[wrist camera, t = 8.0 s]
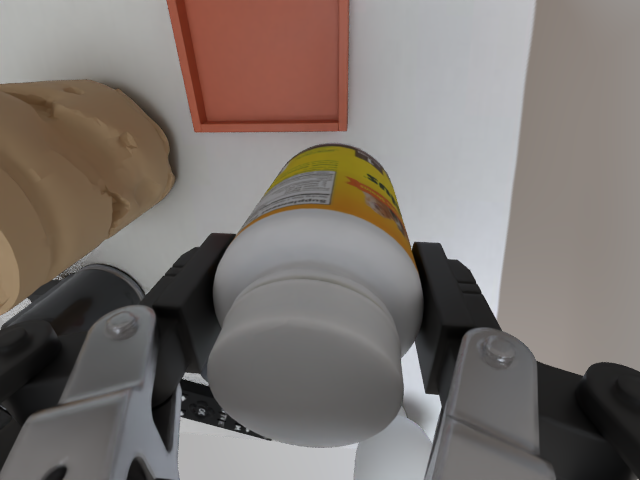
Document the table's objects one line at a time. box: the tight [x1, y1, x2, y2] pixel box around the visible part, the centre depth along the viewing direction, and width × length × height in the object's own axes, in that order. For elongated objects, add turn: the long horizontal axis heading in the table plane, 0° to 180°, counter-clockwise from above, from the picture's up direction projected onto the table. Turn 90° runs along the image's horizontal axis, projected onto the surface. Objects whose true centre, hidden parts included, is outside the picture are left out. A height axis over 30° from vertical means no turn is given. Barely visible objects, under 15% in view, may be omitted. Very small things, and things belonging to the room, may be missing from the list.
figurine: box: [354, 406, 432, 480], centre depth 43 cm, size 11×11×15 cm
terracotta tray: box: [167, 0, 349, 132], centre depth 25 cm, size 13×12×2 cm
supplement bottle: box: [207, 143, 424, 448], centre depth 11 cm, size 6×6×10 cm
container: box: [0, 79, 175, 315], centre depth 24 cm, size 13×13×18 cm
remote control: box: [180, 379, 272, 441], centre depth 51 cm, size 8×32×2 cm, turn 73°
